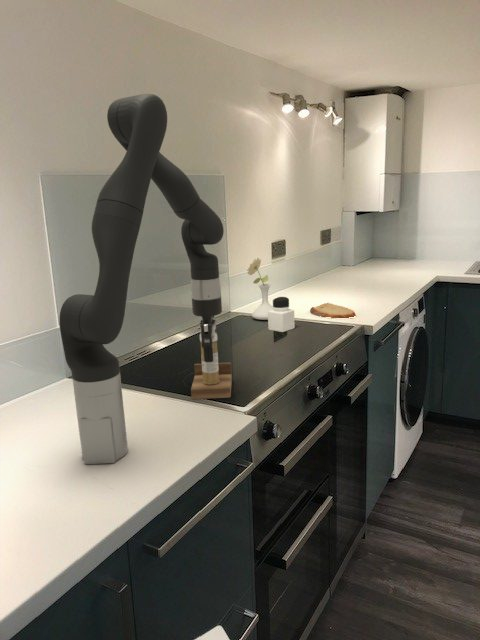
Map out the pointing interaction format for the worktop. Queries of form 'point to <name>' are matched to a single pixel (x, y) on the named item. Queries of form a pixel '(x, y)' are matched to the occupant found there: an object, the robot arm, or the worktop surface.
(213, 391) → the dock
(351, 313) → the slice of bread
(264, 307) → the flower in vase
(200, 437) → the worktop surface
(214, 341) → the sprinkles bottle
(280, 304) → the medicine bottle
